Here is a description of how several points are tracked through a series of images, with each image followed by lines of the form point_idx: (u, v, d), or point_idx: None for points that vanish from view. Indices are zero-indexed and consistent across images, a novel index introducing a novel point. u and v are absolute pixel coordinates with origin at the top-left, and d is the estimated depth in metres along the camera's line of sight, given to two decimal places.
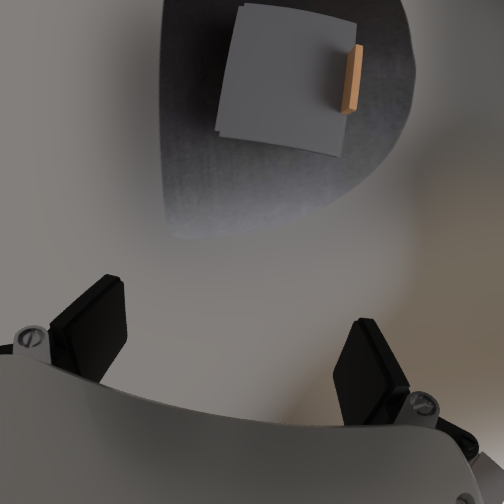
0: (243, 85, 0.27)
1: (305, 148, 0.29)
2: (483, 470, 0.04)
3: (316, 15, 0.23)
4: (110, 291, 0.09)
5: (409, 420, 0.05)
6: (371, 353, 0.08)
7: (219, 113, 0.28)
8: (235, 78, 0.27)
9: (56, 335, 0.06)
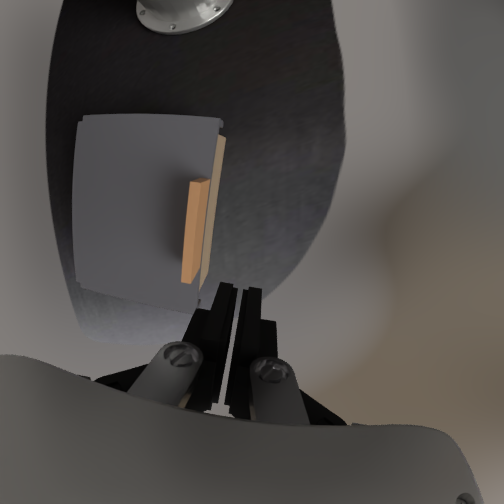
0: (89, 234, 0.25)
1: (157, 305, 0.27)
2: None
3: (161, 118, 0.21)
4: (235, 299, 0.10)
5: (267, 394, 0.06)
6: None
7: (76, 265, 0.26)
8: (81, 226, 0.25)
9: (206, 348, 0.07)
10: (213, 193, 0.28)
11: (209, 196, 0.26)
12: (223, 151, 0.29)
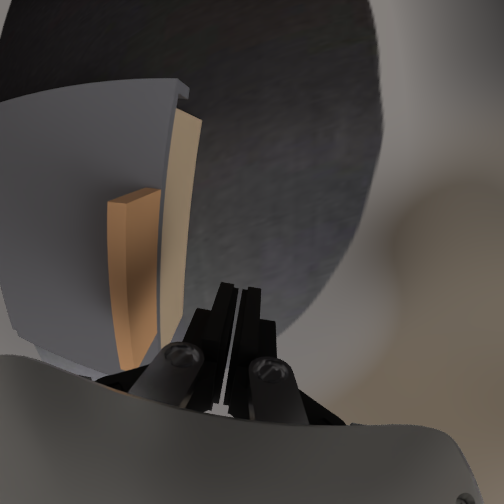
0: (12, 272, 0.14)
1: (107, 373, 0.17)
2: None
3: (85, 90, 0.10)
4: (235, 299, 0.10)
5: (267, 394, 0.06)
6: None
7: (7, 308, 0.15)
8: (3, 260, 0.14)
9: (207, 349, 0.07)
10: (180, 207, 0.18)
11: (169, 215, 0.16)
12: (198, 140, 0.18)
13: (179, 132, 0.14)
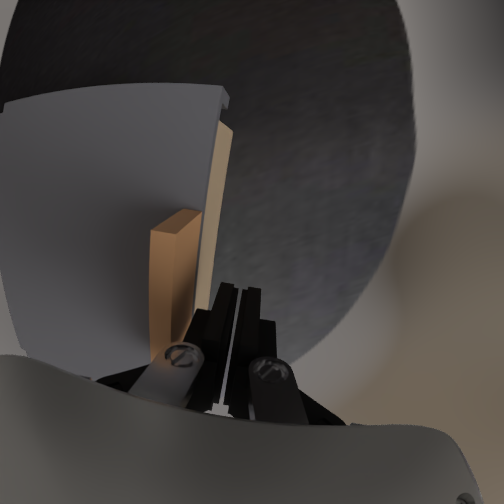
0: (21, 291, 0.13)
1: None
2: None
3: (109, 93, 0.10)
4: (235, 299, 0.10)
5: (267, 394, 0.06)
6: None
7: (15, 328, 0.15)
8: (11, 278, 0.13)
9: (207, 349, 0.07)
10: (211, 226, 0.17)
11: (204, 236, 0.15)
12: (228, 153, 0.18)
13: (217, 145, 0.13)
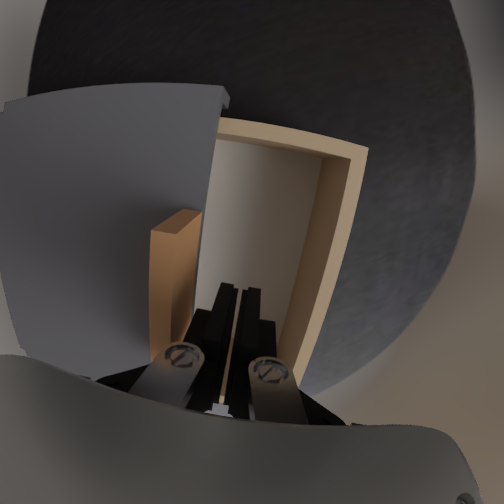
0: (21, 291, 0.13)
1: None
2: None
3: (110, 92, 0.10)
4: (235, 299, 0.10)
5: (267, 394, 0.06)
6: (238, 316, 0.09)
7: (15, 327, 0.14)
8: (10, 277, 0.13)
9: (207, 349, 0.07)
10: None
11: None
12: None
13: None
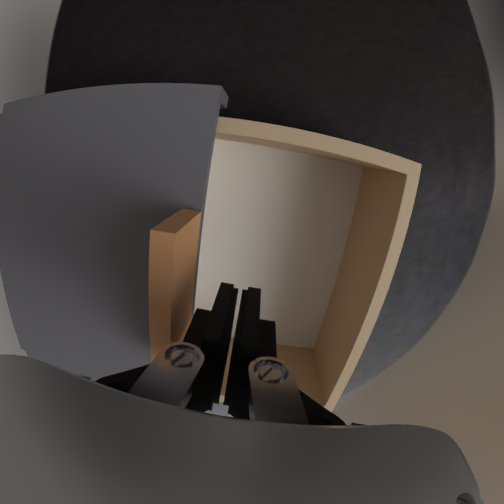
0: (22, 292, 0.13)
1: None
2: None
3: (109, 93, 0.10)
4: (235, 299, 0.10)
5: (266, 394, 0.06)
6: (238, 316, 0.09)
7: (16, 328, 0.15)
8: (11, 278, 0.13)
9: (207, 349, 0.07)
10: None
11: None
12: None
13: None
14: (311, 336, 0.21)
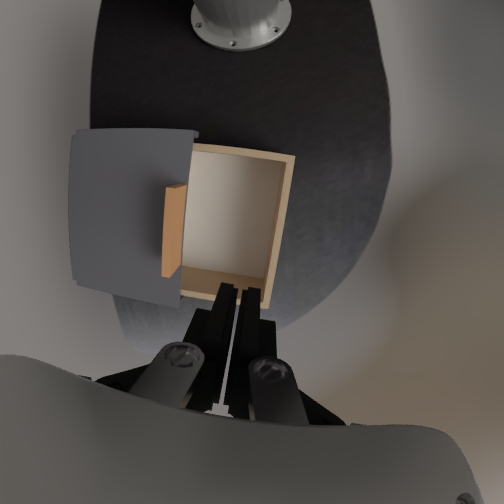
0: (83, 236, 0.27)
1: (144, 300, 0.29)
2: None
3: (143, 132, 0.24)
4: (235, 299, 0.10)
5: (267, 394, 0.06)
6: (238, 316, 0.09)
7: (72, 264, 0.29)
8: (77, 229, 0.27)
9: (207, 349, 0.07)
10: None
11: None
12: None
13: None
14: (261, 269, 0.35)
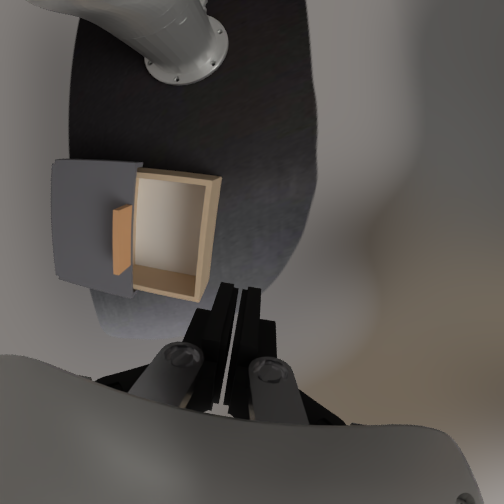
0: (63, 242, 0.34)
1: (107, 291, 0.36)
2: None
3: (101, 164, 0.30)
4: (235, 299, 0.10)
5: (266, 394, 0.06)
6: None
7: (55, 263, 0.35)
8: (58, 236, 0.34)
9: (207, 349, 0.07)
10: (212, 222, 0.37)
11: (209, 225, 0.35)
12: None
13: (214, 189, 0.34)
14: None
